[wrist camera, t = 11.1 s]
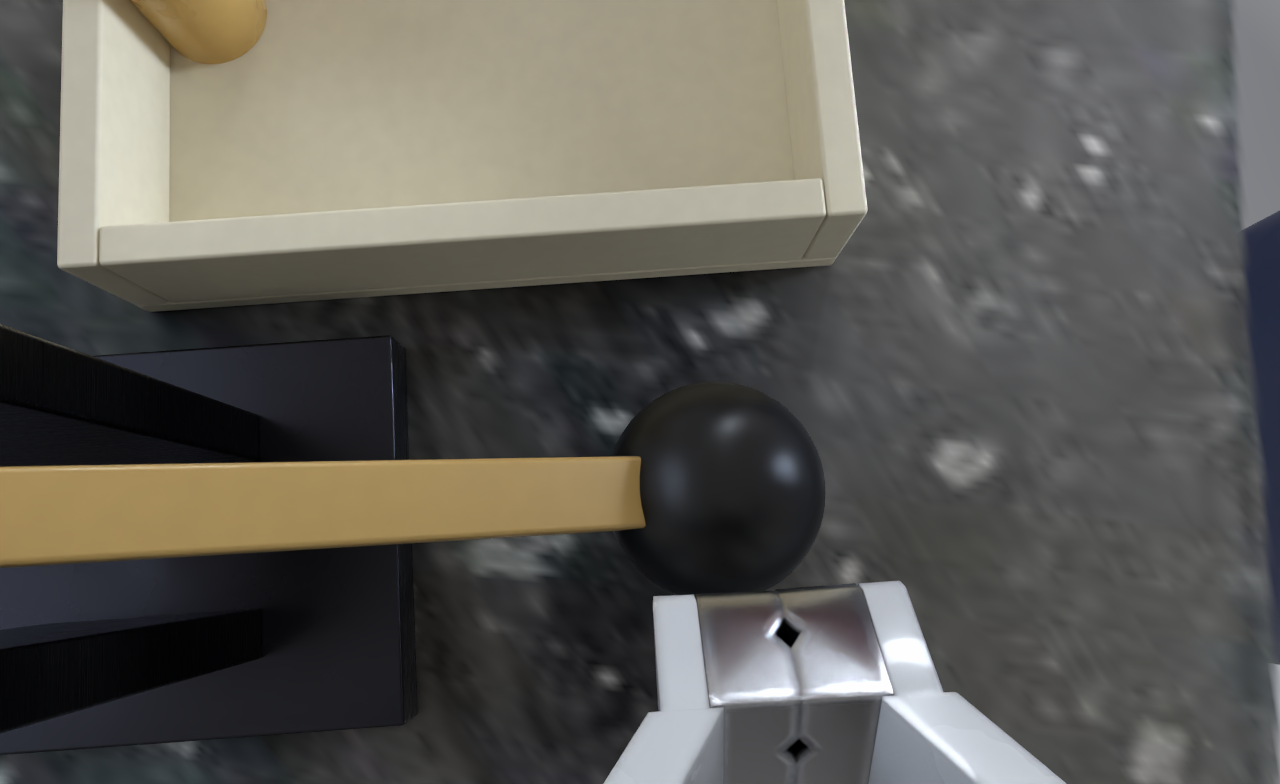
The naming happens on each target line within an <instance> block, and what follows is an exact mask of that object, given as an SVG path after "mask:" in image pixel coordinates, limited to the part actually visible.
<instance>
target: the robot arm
mask: <svg viewBox="0 0 1280 784" xmlns="http://www.w3.org/2000/svg"><path fill="white" fill-rule="evenodd" d="M653 619H654V638H655V657H656V676H657V695H658V710H659V711H657V712H648V714H647V715H646V717H645V719H644V720H643V722H642V723H641V725H640V726H639V728H638V730H637V731H636V733H635V734H634V736H633V738H632V739H631V741H630V742H629V744H628V746H627V747H626V749H625V750H624V752H623V753H622V755H621V757H620V758H619V760H618V761H617V763H616V765H615V766H614V768H613V769H612V771H611V772H610V774H609V776H608V777H607V779H606V780H605V782H604V784H1067V783H1065V782H1064V781H1063V780H1062V779H1061V778H1059V777H1058V776H1057V775H1056V774H1055V773H1053V772H1052V771H1051V770H1050V769H1048V768H1047V767H1046V766H1045V765H1044V764H1042V763H1041V762H1040V761H1039V760H1038V759H1036V758H1035V757H1034V756H1033V755H1032V754H1030V753H1029V752H1028V751H1027V750H1026V749H1024V748H1023V747H1022V746H1021V745H1020V744H1018V743H1017V742H1016V741H1015V740H1014V739H1012V738H1011V737H1010V736H1009V735H1008V734H1006V733H1005V732H1004V731H1003V730H1002V729H1000V728H999V727H998V726H997V725H996V724H994V723H993V722H992V721H991V720H990V719H988V718H987V717H986V716H985V715H984V714H982V713H981V712H980V711H979V710H977V709H976V708H975V707H974V706H973V705H971V704H970V703H969V702H968V701H967V700H965V699H964V698H963V697H962V696H961V695H959V694H958V693H957V692H943V689H942V686H941V683H940V681H939V678H938V675H937V672H936V670H935V667H934V664H933V661H932V658H931V656H930V653H929V650H928V647H927V645H926V642H925V639H924V636H923V634H922V631H921V628H920V625H919V622H918V620H917V617H916V614H915V611H914V609H913V606H912V603H911V600H910V598H909V595H908V592H907V589H906V587H905V586H904V585H903V584H902V583H901V582H900V581H889V582H875V583H861V584H858V585H857V584H855V583H854V584H841V585H828V586H815V587H802V588H789V589H776V590H775V591H755V592H730V593H704V594H696V595H695V596H694V594H693V595H671V596H653Z"/></svg>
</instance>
